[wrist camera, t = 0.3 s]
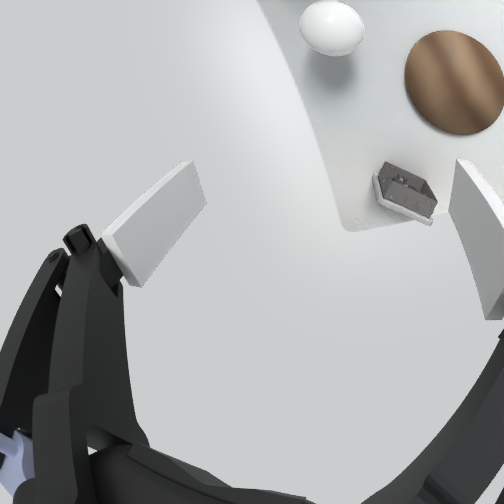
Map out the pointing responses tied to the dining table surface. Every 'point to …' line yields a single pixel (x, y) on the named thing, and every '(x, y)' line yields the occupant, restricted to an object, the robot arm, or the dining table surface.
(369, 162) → the dining table surface
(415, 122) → the dining table surface
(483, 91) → the board
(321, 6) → the lightbulb
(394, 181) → the electrical switch
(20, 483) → the robot arm
